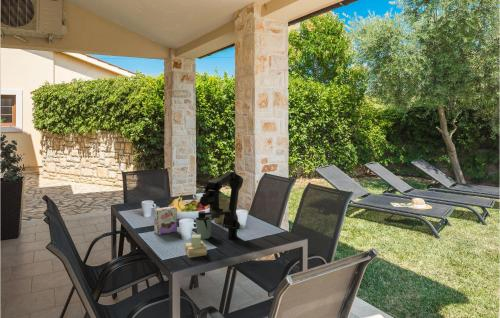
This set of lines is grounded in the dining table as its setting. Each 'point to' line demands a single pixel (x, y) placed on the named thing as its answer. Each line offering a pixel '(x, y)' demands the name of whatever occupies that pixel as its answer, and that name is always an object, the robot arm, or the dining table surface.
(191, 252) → the oak block
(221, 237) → the dining table surface
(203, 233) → the grey green cup
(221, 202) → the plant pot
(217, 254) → the dining table surface
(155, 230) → the candy box
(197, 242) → the sage cube
